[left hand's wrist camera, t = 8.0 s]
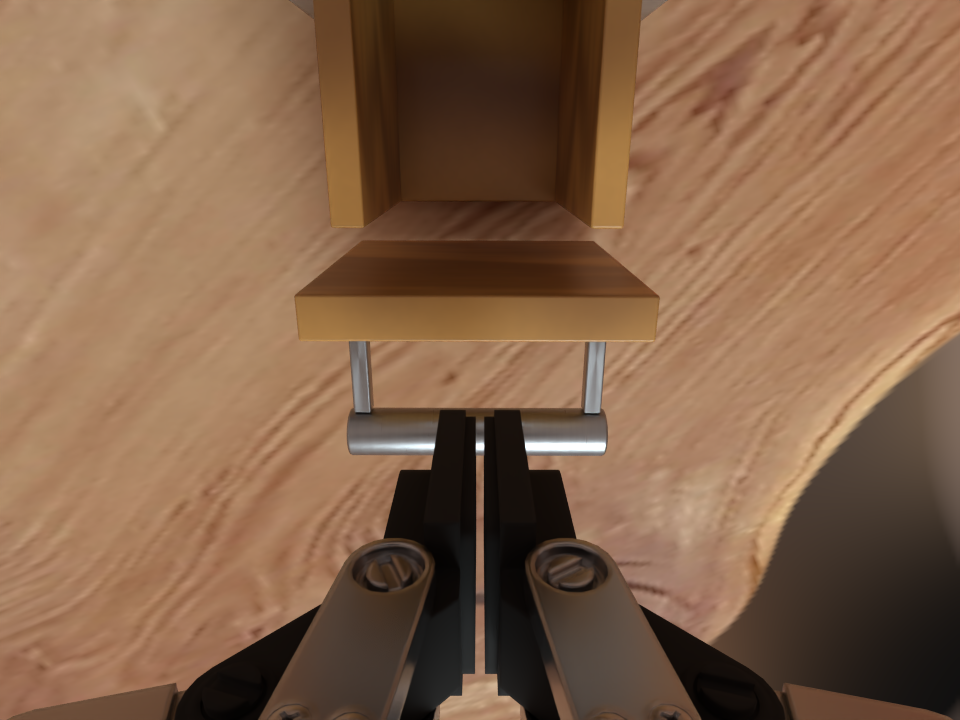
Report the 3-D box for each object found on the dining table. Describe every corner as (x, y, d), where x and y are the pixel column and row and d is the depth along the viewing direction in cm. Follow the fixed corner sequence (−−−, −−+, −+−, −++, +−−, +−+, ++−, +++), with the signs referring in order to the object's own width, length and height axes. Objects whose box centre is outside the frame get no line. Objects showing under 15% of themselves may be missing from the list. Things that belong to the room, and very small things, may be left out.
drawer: (583, 407, 25) (634, 536, 17) (371, 406, 25) (318, 535, 17) (636, -386, 17) (790, -906, 9) (321, -388, 17) (167, -909, 9)
